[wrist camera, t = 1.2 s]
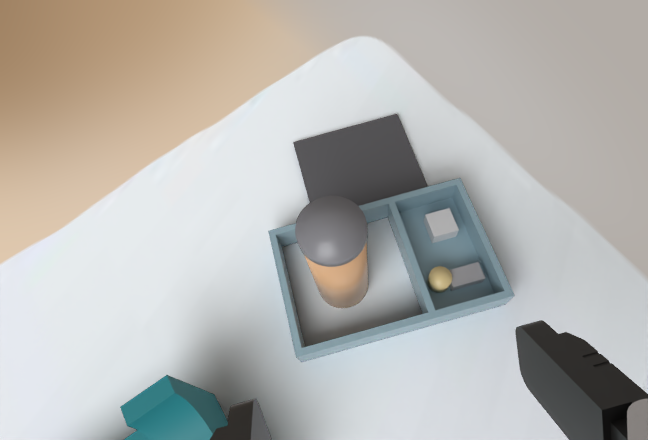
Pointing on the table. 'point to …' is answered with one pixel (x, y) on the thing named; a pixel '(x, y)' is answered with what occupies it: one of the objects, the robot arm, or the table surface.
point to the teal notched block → (173, 412)
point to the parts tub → (419, 264)
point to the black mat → (360, 162)
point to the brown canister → (335, 248)
